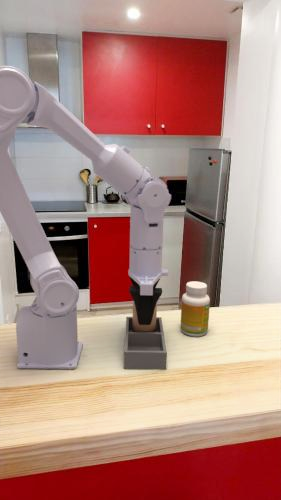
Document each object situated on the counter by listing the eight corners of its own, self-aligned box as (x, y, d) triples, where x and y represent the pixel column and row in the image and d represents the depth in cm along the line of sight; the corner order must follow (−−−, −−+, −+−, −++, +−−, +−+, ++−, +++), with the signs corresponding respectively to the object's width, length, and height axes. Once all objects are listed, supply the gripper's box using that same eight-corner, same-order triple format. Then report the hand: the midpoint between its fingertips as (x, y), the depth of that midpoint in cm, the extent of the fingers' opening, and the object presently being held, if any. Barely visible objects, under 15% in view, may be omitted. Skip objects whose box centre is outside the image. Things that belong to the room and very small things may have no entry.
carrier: (124, 368, 58) (124, 352, 57) (126, 330, 71) (126, 316, 70) (166, 369, 58) (166, 352, 57) (160, 331, 71) (161, 317, 70)
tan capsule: (132, 335, 65) (132, 298, 63) (132, 324, 69) (133, 289, 67) (156, 335, 65) (157, 298, 63) (155, 324, 69) (156, 289, 67)
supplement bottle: (207, 338, 68) (210, 290, 66) (178, 335, 69) (181, 288, 67) (208, 326, 73) (211, 281, 71) (181, 323, 74) (183, 278, 72)
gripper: (173, 257, 56) (169, 337, 59) (165, 237, 70) (163, 302, 74) (127, 257, 56) (126, 336, 59) (129, 237, 70) (128, 302, 73)
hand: (144, 317), depth 66 cm, fingers closed on tan capsule, 4 cm apart
